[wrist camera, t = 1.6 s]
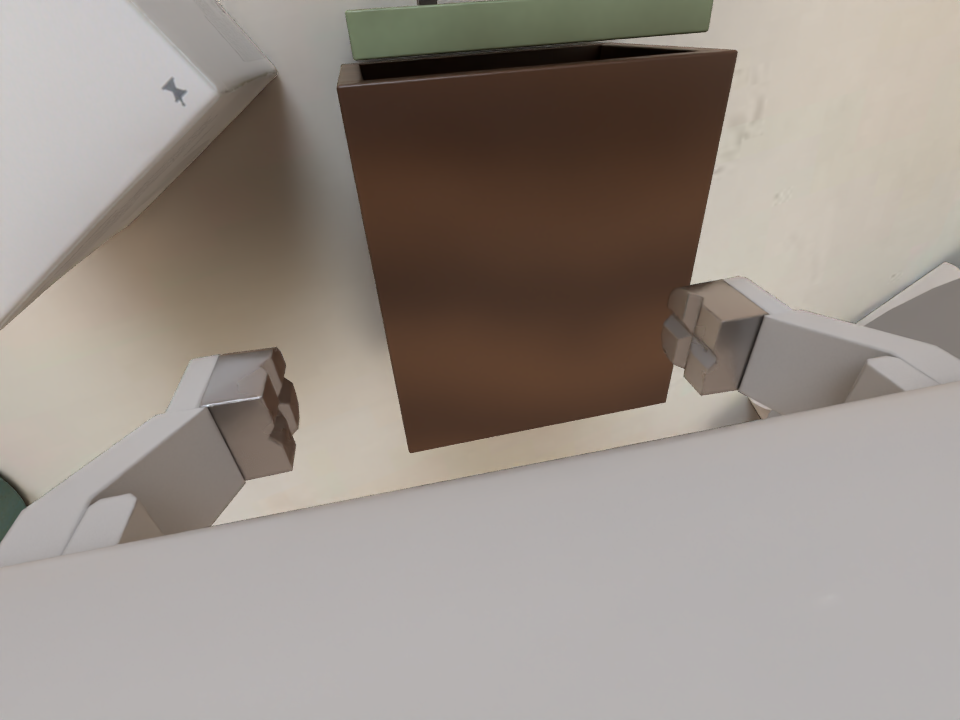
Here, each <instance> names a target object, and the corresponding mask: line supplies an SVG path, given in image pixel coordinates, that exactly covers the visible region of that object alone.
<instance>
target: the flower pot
mask: <svg viewBox="0 0 960 720" xmlns="http://www.w3.org/2000/svg"><path fill="white" fill-rule="evenodd" d="M25 508H26V505H25V503H24V501H23V500H22V498H21V497H20V496H19V494H18V493H17V492H16V491H15V490H14V489H13V488H12V487H11V486H10V485H9V484H8V483H7V482H6V481H4V480H3V479H2V478H1V477H0V543H1V541H2V540H3V538H4V537H5V535H6V534H7V532H8V531H9V529H10V528H11V526H12V525H13V523H14V522H15V520H16V519H17V517H18V516H19V514H20V513H21V511H22V510H23V509H25Z"/></svg>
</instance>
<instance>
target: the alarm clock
mask: <svg viewBox="0 0 960 720" xmlns="http://www.w3.org/2000/svg"><path fill="white" fill-rule="evenodd" d="M856 324H857V325H861V326H865V327H868V328H872V329H876V330H880V331H883V332H887V333H891V334H895V335H898V336H902V337H906V338H910V339H913V340H917V341H921V342H925V343H929V344H932V345H936V346H938V347H939V348H941V349H943V350H944V351H946V352H948V353H950V354H951V355H953V356H955V357H956V358H958V359H960V269H958V268H957V267H956V266H954V265H952V264H950V263H947V262H944V263H942V264H941V265H940V266H938V267H937V268H935V269H934V270H932V271H931V272H929V273H928V274H927V275H925V276H924V277H922V278H921V279H919V280H918V281H916V282H915V283H914V284H912V285H911V286H909V287H908V288H906V289H905V290H903V291H902V292H901V293H899V294H898V295H896V296H895V297H893V298H892V299H890V300H889V301H888V302H886V303H885V304H883V305H882V306H880V307H879V308H877V309H876V310H875V311H873V312H872V313H870V314H869V315H867V316H866V317H865V318H863V319H862V320H860V321H859V322H857V323H856ZM749 400H750V401H751V403H752V404H753V406H754V407H755V409H756V411H757V412H758V414H759V415H760V417H761V419H766V418H771V417H776V416H781V415H782V414H780V413H778V412H776V411H774V410H772V409H770V408H768V407H767V406H765V405H763V404H761V403H759V402H757V401H755V400H753V399H751V398H750V397H749Z"/></svg>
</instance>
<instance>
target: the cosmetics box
mask: <svg viewBox="0 0 960 720" xmlns="http://www.w3.org/2000/svg"><path fill="white" fill-rule="evenodd" d="M276 75H277V70H276V68H275V67H274V65H273V64H272V63H271V62H270V61H269V60H268V59H267V57H266V56H265V55H264V54H263V53H262V52H261V51H260V50H259V48H258V47H257V46H256V45H255V44H254V43H253V42H252V40H251V39H250V38H249V37H248V36H247V35H246V34H245V32H244V31H243V30H242V29H241V28H240V27H239V26H238V25H237V23H236V22H235V21H234V20H233V19H232V18H231V17H230V16H229V14H228V13H227V12H226V11H225V10H224V9H223V8H222V7H221V5H220V4H219V3H218V2H217V1H216V0H0V330H1V329H3V328H4V327H5V326H6V325H7V324H8V323H9V322H11V321H12V320H13V319H14V318H15V317H16V316H17V315H18V314H20V313H21V312H22V311H23V310H24V309H25V308H26V307H27V306H28V305H30V304H31V303H32V302H33V301H34V300H35V299H36V298H37V297H39V296H40V295H41V294H42V293H43V292H44V291H45V290H47V289H48V288H49V287H50V286H51V285H52V284H54V283H55V282H56V281H57V280H58V279H60V278H61V277H62V276H63V275H64V274H66V273H67V272H68V271H69V270H71V269H72V268H73V267H74V266H76V265H77V264H78V263H79V262H81V261H82V260H83V259H84V258H86V257H87V256H88V255H90V254H91V253H92V252H93V251H94V250H96V249H97V248H98V247H99V246H100V245H102V244H103V243H105V242H106V241H107V240H109V239H110V238H111V237H113V236H114V235H115V234H117V233H118V232H119V231H121V230H122V229H124V228H125V227H127V226H129V225H130V223H131V222H132V221H133V220H134V219H135V218H137V217H138V216H139V215H140V214H141V213H142V212H143V211H144V210H145V209H146V208H147V207H148V206H149V205H150V204H151V203H152V202H153V201H154V200H155V199H156V198H157V197H158V196H159V195H160V194H161V193H162V192H163V191H164V190H165V189H166V188H167V187H168V186H169V185H170V184H171V183H172V182H173V181H174V180H175V179H176V178H177V177H178V176H179V175H180V174H181V173H182V172H183V171H184V170H185V169H186V168H187V167H188V166H189V165H190V164H191V163H192V162H193V161H194V160H195V159H196V158H197V157H198V156H199V155H200V154H201V153H202V151H203V150H204V149H205V148H206V147H207V146H208V145H209V144H210V143H211V142H212V141H213V140H214V139H215V138H216V137H217V136H218V135H219V134H220V133H221V132H222V131H223V130H224V129H225V128H226V127H227V126H228V125H229V124H230V123H231V122H232V121H233V120H234V119H235V118H236V117H237V116H238V115H239V114H240V113H241V112H242V111H243V110H244V108H245V107H246V106H247V105H248V104H249V103H250V102H251V101H252V100H253V99H254V98H255V97H256V96H257V95H258V94H259V93H260V92H261V90H262V89H263V88H264V87H265V86H266V85H267V84H268V83H269V82H270V81H271V80H272V79H273V78H274V77H275V76H276Z"/></svg>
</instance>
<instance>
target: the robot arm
mask: <svg viewBox="0 0 960 720" xmlns="http://www.w3.org/2000/svg"><path fill="white" fill-rule="evenodd" d="M667 307H668V309H669V311H670V312H671V315H670V316H669V317H668V318H667V319H666V321H665V322H664V323H663V326H662V332H661V341H662V347H663V350H664V352H665V355H666V357H667V358H668V359H669V360H670V361H671V363H672V364H674V365H676V366H679V367H681V368H684V369H685V370H684V377H685V379H686V380H687V381H688V382H689V383H690V384H691V385H692V386H693V387H694V389H695V390H696V391H697V392H698V393H699V394H700V395H701V396H702V395H708V394H714V393H721V392H727V391H734V390H738V392H740V393H742V394H744V395H746V396H748V397H750V398H751V399H753V400H755V401H757V402H759V403H761V404H763V405H765V406H767V407H768V408H770V409H772V410H774V411H776V412H778V413H780V414H782V415H781V416H776V417H771V418H766V419H760V420H755V421H750V422H745V423H740V424H735V425H730V426H724V427H719V428H714V429H709V430H704V431H699V432H694V433H688V434H683V435H678V436H673V437H668V438H663V439H658V440H652V441H647V442H642V443H637V444H632V445H627V446H622V447H617V448H612V449H607V450H601V451H596V452H591V453H586V454H581V455H576V456H571V457H565V458H560V459H555V460H550V461H545V462H540V463H535V464H529V465H524V466H519V467H514V468H509V469H504V470H499V471H493V472H488V473H483V474H478V475H473V476H468V477H462V478H457V479H452V480H447V481H442V482H437V483H432V484H426V485H421V486H416V487H411V488H406V489H401V490H396V491H390V492H385V493H380V494H375V495H370V496H365V497H360V498H354V499H349V500H344V501H339V502H334V503H329V504H324V505H318V506H313V507H308V508H303V509H298V510H293V511H288V512H282V513H277V514H272V515H267V516H262V517H257V518H252V519H246V520H241V521H236V522H231V523H226V524H221V525H216V526H211V525H212V524H213V523H214V522H215V520H216V519H217V518H218V517H219V516H220V514H221V513H222V512H223V511H224V509H225V508H226V507H227V506H228V504H229V503H230V502H231V501H232V499H233V498H234V497H235V496H236V494H237V493H238V492H239V491H240V489H241V488H242V487H243V486H244V484H245V481H246V480H251V479H255V478H260V477H265V476H270V475H274V474H279V473H284V472H289V471H292V470H293V463H294V456H295V449H296V444H295V441H294V438H293V436H292V434H293V433H294V432H295V431H296V430H297V429H298V426H299V406H298V400H297V396H296V392H295V389H294V386H293V383H292V382H290V381H289V380H287V379H286V378H284V374H285V368H286V364H285V361H284V359H283V356H282V354H281V351H280V350H279V349H278V348H277V347H272V348H265V349H257V350H249V351H242V352H234V353H227V354H222V355H221V354H217V355H211V356H205V357H199V358H194V359H192V360H190V361H189V363H188V365H187V367H186V369H185V372H184V374H183V376H182V378H181V380H180V382H179V384H178V386H177V388H176V391H175V393H174V395H173V397H172V399H171V401H170V403H169V405H168V407H167V410H166V412H165V413H164V414H158V415H155V416H153V417H152V418H151V419H149V420H148V421H146V422H145V423H144V424H142V425H141V426H139V427H138V428H137V429H135V430H134V431H132V432H131V433H130V434H128V435H127V436H125V437H124V438H123V439H121V440H120V441H118V442H117V443H116V444H114V445H113V446H111V447H110V448H109V449H107V450H106V451H104V452H103V453H102V454H100V455H99V456H97V457H96V458H95V459H93V460H92V461H91V462H89V463H88V464H86V465H85V466H84V467H82V468H81V469H79V470H78V471H77V472H75V473H74V474H72V475H71V476H70V477H68V478H67V479H65V480H64V481H63V482H61V483H60V484H58V485H57V486H56V487H54V488H53V489H51V490H50V491H49V492H47V493H46V494H44V495H43V496H42V497H40V498H39V499H37V500H36V501H35V502H33V503H32V504H30V505H29V506H28V507H26V508H25V509H23V510H22V511H21V513H20V514H19V516H18V517H17V519H16V520H15V522H14V523H13V525H12V526H11V528H10V529H9V531H8V532H7V534H6V535H5V537H4V538H3V540H2V541H1V543H0V720H960V359H958V358H956V357H955V356H953V355H951V354H950V353H948V352H946V351H944V350H943V349H941V348H939V347H938V346H936V345H932V344H929V343H925V342H921V341H917V340H913V339H910V338H906V337H902V336H898V335H895V334H891V333H887V332H883V331H880V330H876V329H872V328H868V327H865V326H861V325H857V324H853V323H850V322H846V321H842V320H838V319H835V318H831V317H827V316H823V315H820V314H816V313H812V312H808V311H805V310H795V311H794V310H793V309H791V308H790V307H788V306H787V305H786V304H784V303H783V302H781V301H780V300H778V299H777V298H775V297H774V296H772V295H771V294H770V293H768V292H767V291H765V290H764V289H762V288H761V287H759V286H758V285H756V284H755V283H754V282H752V281H751V280H749V279H748V278H746V277H741V276H736V277H731V278H726V279H721V280H716V281H710V282H705V283H699V284H693V285H688V286H682V287H677V288H673V289H672V291H671V293H670V294H669V297H668V302H667Z"/></svg>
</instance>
